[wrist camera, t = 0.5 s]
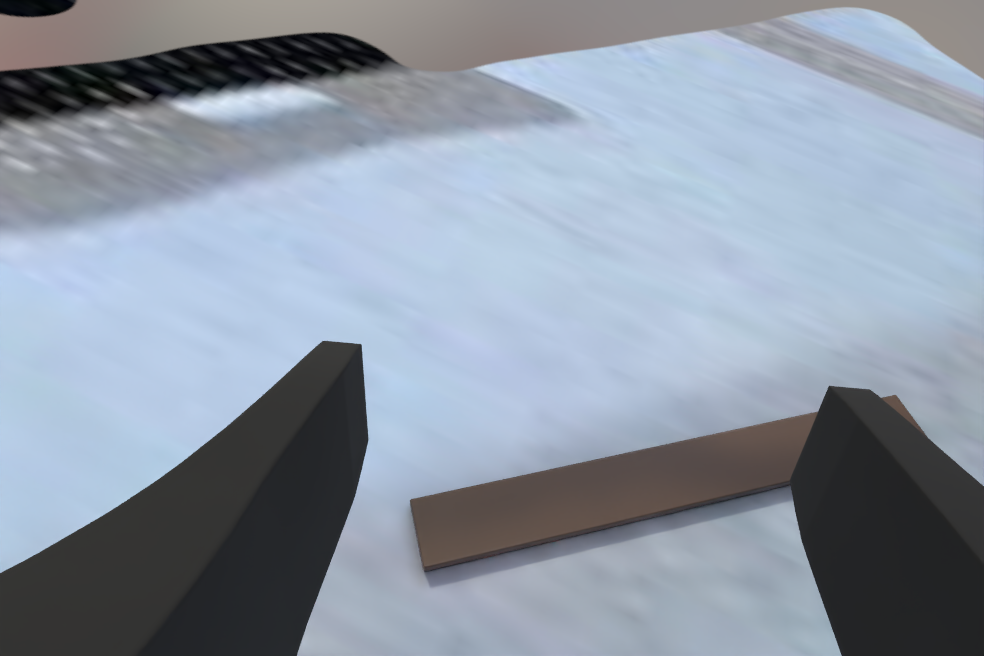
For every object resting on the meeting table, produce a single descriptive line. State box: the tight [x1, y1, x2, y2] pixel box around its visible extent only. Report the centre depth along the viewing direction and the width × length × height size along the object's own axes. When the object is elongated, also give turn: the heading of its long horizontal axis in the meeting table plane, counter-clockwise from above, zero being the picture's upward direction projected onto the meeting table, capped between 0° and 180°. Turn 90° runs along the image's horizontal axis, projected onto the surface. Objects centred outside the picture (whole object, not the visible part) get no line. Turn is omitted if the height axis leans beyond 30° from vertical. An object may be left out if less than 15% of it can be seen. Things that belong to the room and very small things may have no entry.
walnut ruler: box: [410, 395, 928, 571], centre depth 31 cm, size 3×24×1 cm, turn 104°
